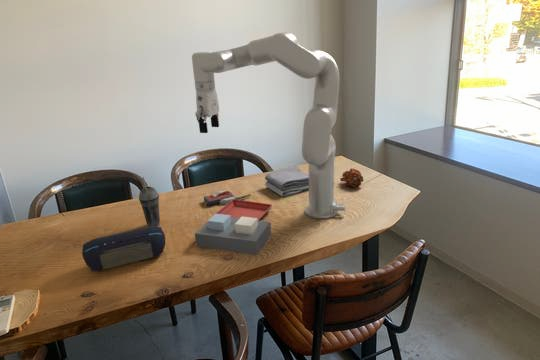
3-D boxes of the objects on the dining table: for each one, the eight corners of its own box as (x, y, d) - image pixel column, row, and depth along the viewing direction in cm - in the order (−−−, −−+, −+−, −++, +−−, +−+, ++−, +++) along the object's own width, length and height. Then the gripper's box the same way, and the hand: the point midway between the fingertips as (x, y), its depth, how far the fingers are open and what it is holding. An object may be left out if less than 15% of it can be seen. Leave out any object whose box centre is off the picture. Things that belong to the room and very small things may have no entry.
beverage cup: (167, 222, 153) (159, 173, 146) (155, 231, 147) (146, 180, 140) (152, 219, 156) (144, 171, 149) (139, 228, 150) (130, 178, 143)
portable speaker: (86, 280, 120) (79, 251, 116) (86, 264, 129) (79, 236, 125) (170, 258, 129) (166, 231, 125) (165, 245, 138) (160, 218, 134)
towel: (264, 188, 182) (263, 172, 179) (296, 179, 191) (296, 163, 188) (282, 199, 170) (281, 181, 167) (316, 188, 179) (316, 172, 176)
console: (271, 234, 140) (270, 221, 139) (256, 255, 128) (255, 241, 126) (215, 227, 148) (213, 215, 146) (196, 246, 135) (194, 233, 133)
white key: (258, 231, 137) (257, 218, 135) (252, 239, 132) (251, 226, 130) (242, 229, 139) (241, 216, 137) (236, 237, 133) (234, 224, 132)
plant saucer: (253, 232, 143) (252, 224, 142) (210, 225, 150) (209, 217, 149) (273, 212, 159) (273, 204, 157) (233, 206, 166) (233, 199, 165)
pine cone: (359, 193, 174) (343, 189, 184) (371, 179, 175) (354, 175, 186) (349, 181, 170) (333, 176, 181) (361, 166, 172) (345, 163, 182)
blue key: (231, 228, 140) (230, 215, 138) (224, 235, 135) (223, 222, 133) (216, 226, 142) (215, 213, 140) (209, 233, 137) (207, 220, 135)
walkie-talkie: (208, 210, 163) (252, 198, 172) (207, 200, 162) (251, 189, 170) (201, 203, 170) (243, 192, 179) (200, 193, 169) (242, 183, 178)
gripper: (202, 89, 144) (208, 135, 150) (223, 82, 159) (227, 125, 165) (184, 89, 147) (190, 134, 153) (207, 83, 162) (211, 124, 168)
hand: (209, 129), depth 159 cm, fingers open, 9 cm apart
